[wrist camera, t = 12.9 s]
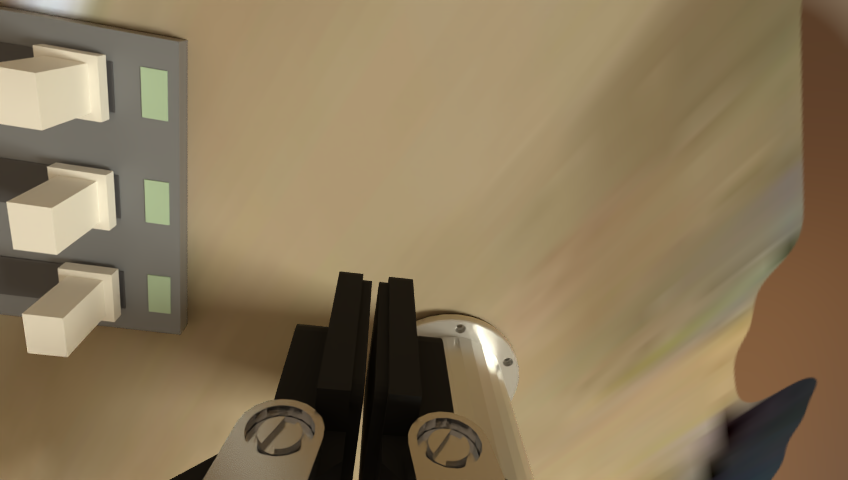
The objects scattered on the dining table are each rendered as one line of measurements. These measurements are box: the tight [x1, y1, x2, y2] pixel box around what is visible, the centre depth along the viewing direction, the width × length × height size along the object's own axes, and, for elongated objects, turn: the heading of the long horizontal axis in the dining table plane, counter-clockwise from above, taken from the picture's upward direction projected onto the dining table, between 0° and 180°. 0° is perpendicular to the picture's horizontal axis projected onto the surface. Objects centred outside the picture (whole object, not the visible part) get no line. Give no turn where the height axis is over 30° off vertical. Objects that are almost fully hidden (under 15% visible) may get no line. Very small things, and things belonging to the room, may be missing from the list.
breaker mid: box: [6, 162, 116, 255], centre depth 33 cm, size 4×4×6 cm
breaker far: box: [22, 262, 121, 357], centre depth 36 cm, size 4×4×6 cm
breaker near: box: [0, 44, 109, 130], centre depth 30 cm, size 4×4×6 cm
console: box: [0, 6, 187, 335], centre depth 36 cm, size 22×20×2 cm
